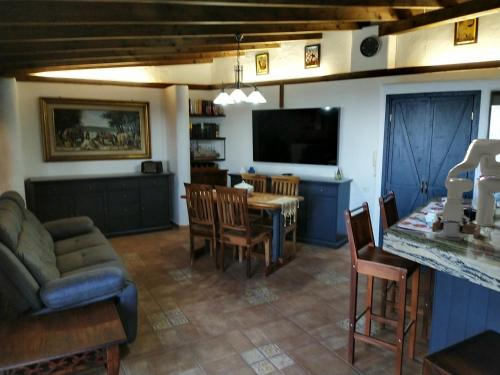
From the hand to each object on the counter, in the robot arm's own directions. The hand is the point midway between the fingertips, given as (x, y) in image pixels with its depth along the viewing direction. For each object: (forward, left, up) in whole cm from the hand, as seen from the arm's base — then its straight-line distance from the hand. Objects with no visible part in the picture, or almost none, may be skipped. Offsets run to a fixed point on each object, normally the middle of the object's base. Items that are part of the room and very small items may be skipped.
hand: (451, 230), depth 219 cm
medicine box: (0, 0, -4) cm, 4 cm away
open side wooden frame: (-12, 0, -4) cm, 13 cm away
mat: (0, 0, -4) cm, 4 cm away
